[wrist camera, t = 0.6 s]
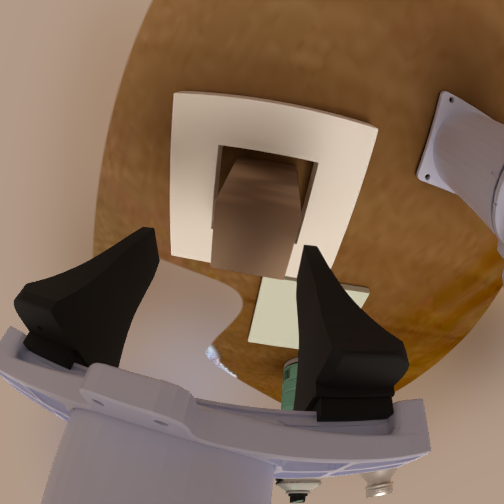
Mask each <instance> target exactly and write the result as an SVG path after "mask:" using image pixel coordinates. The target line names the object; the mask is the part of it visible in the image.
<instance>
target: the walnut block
mask: <svg viewBox="0 0 504 504" xmlns="http://www.w3.org/2000/svg"><path fill="white" fill-rule="evenodd" d="M301 217H302V215H301V204H300V194H299V185H298V176H297V167H296V166H294V165H289V164H284V163H279V162H274V161H268V160H262V159H257V158H251V157H244V156H238V157H237V159H236V161H235V163H234V165H233V167H232V169H231V171H230V173H229V175H228V177H227V179H226V181H225V182H224V184H223V186H222V188H221V190H220V192H219V194H218V196H217V198H216V201H215V210H214V222H213V236H212V250H211V266H210V267H212V268H217V269H223V270H228V271H234V272H239V273H245V274H250V275H256V276H262V277H267V278H273V279H279V280H284V277H285V274H286V270H287V267H288V264H289V260H290V257H291V253H292V250H293V246H294V242H295V239H296V235H297V232H298V228H299V224H300V221H301Z"/></svg>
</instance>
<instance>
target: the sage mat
mask: <svg viewBox="0 0 504 504" xmlns="http://www.w3.org/2000/svg"><path fill="white" fill-rule="evenodd" d="M296 286H297V278H294V277H289V276H285V277H284V280H279V279H273V278H267V277H262V281H261V285H260V290H259V294H258V299H257V303H256V307H255V312H254V316H253V320H252V324H251V329H250V333H249V338H248V342H254V343H260V344H266V345H273V346H280V347H287V348H295V349H299V331H298V317H297V303H296ZM341 286H342V287H343V288H344V290H345V291H346V292H347V293H348V295H349V296H350V297H351V298H352V299H353V300H354V302H355V303H356V304H357V305H358V306H359V307H360V308H362V306H363V304H364V302H365V301H366V299H367V297H368V295H369V294H370V293H369V289H368V288H365V287H359V286H353V285H346V284H341Z"/></svg>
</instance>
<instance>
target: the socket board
mask: <svg viewBox="0 0 504 504" xmlns="http://www.w3.org/2000/svg"><path fill="white" fill-rule="evenodd" d="M377 133H378V129H377V128H376V127H374V126H373V125H371V124H369V123H366V122H363V121H360V120H356V119H353V118H349V117H346V116H342V115H338V114H335V113H331V112H327V111H323V110H319V109H314V108H310V107H305V106H301V105H296V104H291V103H286V102H280V101H275V100H269V99H262V98H256V97H249V96H241V95H232V94H223V93H212V92H198V91H180V92H176V93H174V98H173V112H172V129H171V154H170V233H171V255H173V256H179V257H184V258H189V259H194V260H200V261H205V262H210V263H211V250H212V236H213V222H214V210H215V201H216V198H217V196H218V191H219V181H220V171H221V161H222V152H223V146H231V147H238V148H244V149H251V150H257V151H263V152H268V153H274V154H279V155H285V156H290V157H295V158H299V159H304V160H309V161H313V162H314V164H313V168H312V172H311V176H310V180H309V184H308V188H307V192H306V196H305V200H304V204H303V208H302V211H301V215H302V217H301V221H300V224H299V228H298V232H297V235H296V239H295V242H294V246H293V250H292V253H291V257H290V260H289V264H288V267H287V270H286V274H285V276H289V277H294V278H297V275H298V270H299V266H300V261H301V256H302V251H303V247H304V245H312V246H317V247H318V248H319V250H320V252H321V254H322V256H323V257H324V259H325V261H326V262H327V264H328V266H329V268H330V269H331V267H332V265H333V262H334V260H335V257H336V255H337V252H338V250H339V247H340V244H341V242H342V239H343V236H344V234H345V231H346V228H347V226H348V223H349V220H350V217H351V215H352V212H353V209H354V206H355V203H356V200H357V197H358V194H359V192H360V189H361V186H362V182H363V179H364V176H365V173H366V170H367V167H368V164H369V160H370V157H371V154H372V150H373V147H374V144H375V140H376V137H377Z"/></svg>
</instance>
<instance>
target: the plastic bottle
mask: <svg viewBox="0 0 504 504" xmlns="http://www.w3.org/2000/svg"><path fill="white" fill-rule="evenodd" d="M397 468H398V467H397ZM397 468H391V469H386V470H379V471H373V472H366V473H359V474H360V475H361V477H362V478H363V479H364V480H365V481H366V482H367V484H368V486H367V487H366V488H365V489H366V497H367V498H368V497H374V496H379V495H384V494H389V493H392V491H393V490H392V489H393V488H392V487H393V485H392V484H393V482H391V477H392V476H393V474H394V473H395V471H396V470H397Z"/></svg>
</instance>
